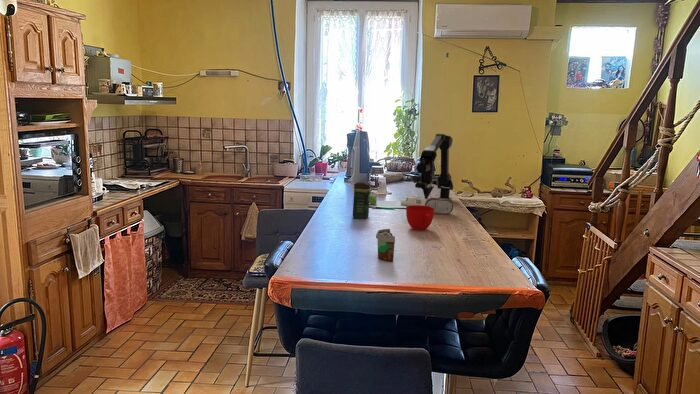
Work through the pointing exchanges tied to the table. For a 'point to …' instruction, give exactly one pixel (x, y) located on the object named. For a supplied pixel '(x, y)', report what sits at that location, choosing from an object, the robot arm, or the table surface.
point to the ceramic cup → (419, 216)
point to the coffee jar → (361, 199)
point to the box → (410, 203)
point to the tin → (440, 205)
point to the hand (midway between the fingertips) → (426, 198)
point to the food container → (385, 245)
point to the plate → (418, 199)
